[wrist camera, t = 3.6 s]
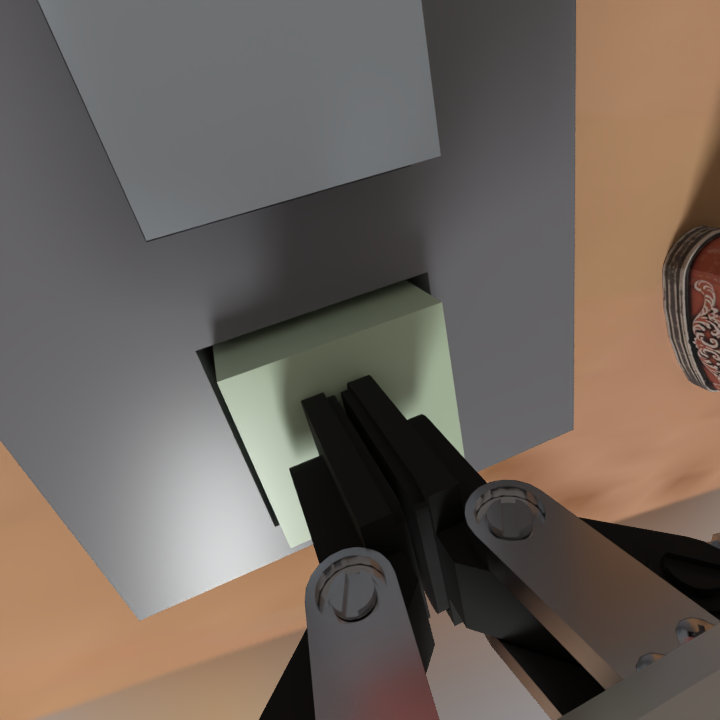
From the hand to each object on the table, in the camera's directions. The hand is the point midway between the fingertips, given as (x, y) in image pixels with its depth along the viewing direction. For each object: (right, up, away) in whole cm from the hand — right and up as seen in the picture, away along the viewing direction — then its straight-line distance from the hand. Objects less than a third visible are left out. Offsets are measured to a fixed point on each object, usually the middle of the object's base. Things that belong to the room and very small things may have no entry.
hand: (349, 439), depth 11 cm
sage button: (-1, +2, +3) cm, 3 cm away
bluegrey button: (-2, +8, -1) cm, 8 cm away
